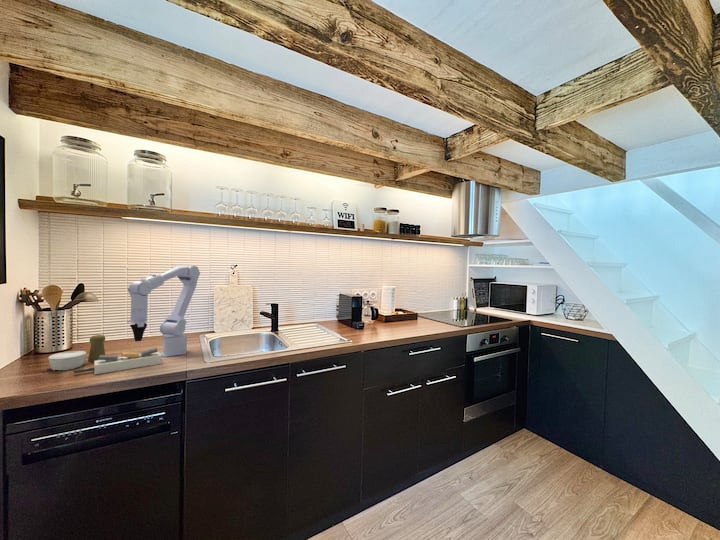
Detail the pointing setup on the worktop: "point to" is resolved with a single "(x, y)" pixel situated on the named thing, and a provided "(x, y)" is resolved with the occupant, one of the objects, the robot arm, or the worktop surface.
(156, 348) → the block
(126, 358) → the rocker switch panel
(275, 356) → the worktop surface
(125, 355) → the rocker middle
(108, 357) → the block
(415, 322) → the worktop surface
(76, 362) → the ramekin
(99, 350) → the olive-brown rounded piece
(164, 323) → the robot arm
